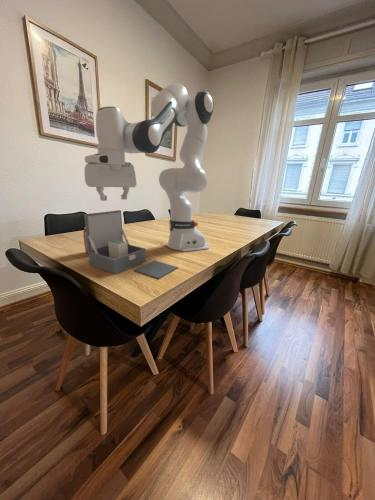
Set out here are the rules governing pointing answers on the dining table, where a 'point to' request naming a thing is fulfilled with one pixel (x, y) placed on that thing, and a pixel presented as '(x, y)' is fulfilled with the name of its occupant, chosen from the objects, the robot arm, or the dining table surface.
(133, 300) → the dining table surface
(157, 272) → the mat
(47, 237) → the dining table surface
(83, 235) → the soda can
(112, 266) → the case
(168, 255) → the dining table surface
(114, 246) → the block
